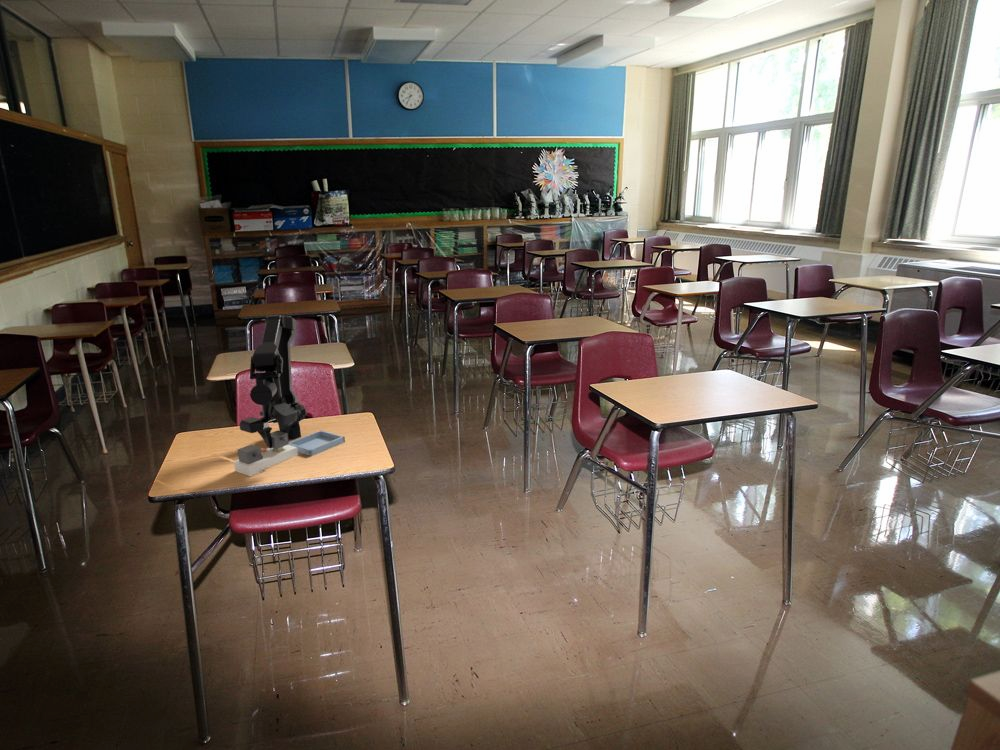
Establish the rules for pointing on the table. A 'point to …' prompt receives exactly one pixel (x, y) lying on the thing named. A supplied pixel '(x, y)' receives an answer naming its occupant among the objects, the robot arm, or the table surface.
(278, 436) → the grey block with knob
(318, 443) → the tray
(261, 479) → the table surface
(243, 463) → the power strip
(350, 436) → the table surface
